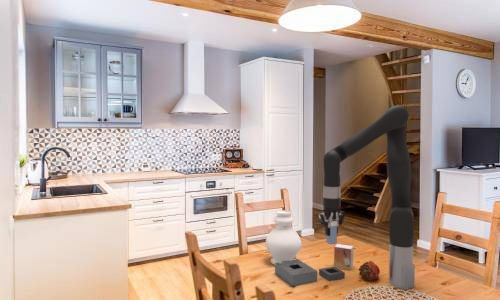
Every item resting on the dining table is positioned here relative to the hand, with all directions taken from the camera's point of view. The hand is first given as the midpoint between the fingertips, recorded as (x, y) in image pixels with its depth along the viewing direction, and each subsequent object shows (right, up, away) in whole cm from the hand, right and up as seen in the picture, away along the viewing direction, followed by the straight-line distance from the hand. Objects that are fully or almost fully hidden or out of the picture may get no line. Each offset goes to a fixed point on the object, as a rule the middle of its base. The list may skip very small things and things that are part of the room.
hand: (331, 234), depth 160 cm
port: (-16, -19, 0) cm, 25 cm away
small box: (+8, -19, +12) cm, 24 cm away
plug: (0, -4, 0) cm, 4 cm away
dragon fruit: (+16, -19, -1) cm, 25 cm away
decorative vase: (-19, -18, +21) cm, 34 cm away
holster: (0, -19, +1) cm, 19 cm away
